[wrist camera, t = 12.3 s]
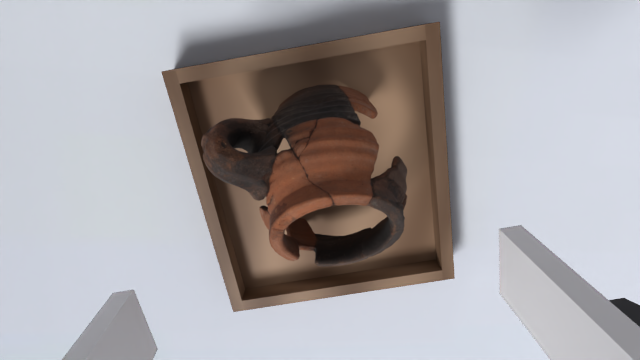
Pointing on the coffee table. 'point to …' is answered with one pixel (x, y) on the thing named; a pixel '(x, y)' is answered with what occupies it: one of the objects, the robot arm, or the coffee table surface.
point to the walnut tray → (262, 102)
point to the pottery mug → (312, 172)
